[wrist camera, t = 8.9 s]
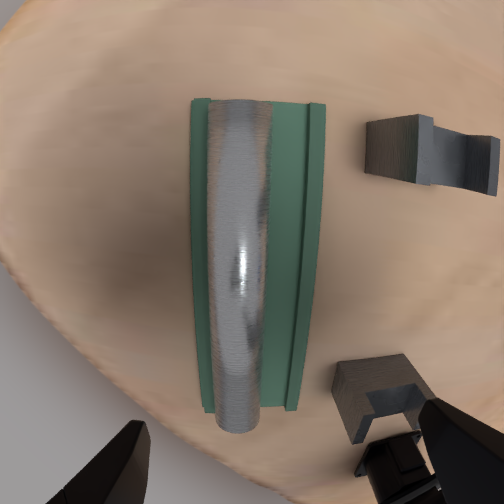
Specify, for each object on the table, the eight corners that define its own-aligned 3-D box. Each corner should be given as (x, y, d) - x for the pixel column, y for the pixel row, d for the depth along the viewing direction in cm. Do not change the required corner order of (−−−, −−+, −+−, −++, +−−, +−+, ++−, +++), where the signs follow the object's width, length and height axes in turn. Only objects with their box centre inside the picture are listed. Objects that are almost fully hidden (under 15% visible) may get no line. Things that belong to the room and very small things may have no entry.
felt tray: (296, 399, 22) (298, 410, 20) (203, 401, 21) (202, 412, 20) (322, 107, 15) (329, 104, 14) (193, 102, 15) (190, 98, 14)
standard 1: (438, 182, 17) (496, 196, 12) (364, 172, 17) (416, 183, 11) (441, 137, 16) (500, 139, 11) (367, 122, 16) (419, 114, 11)
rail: (268, 415, 19) (239, 440, 17) (235, 397, 21) (206, 418, 19) (285, 107, 14) (244, 97, 11) (237, 111, 15) (194, 104, 13)
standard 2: (393, 382, 22) (422, 427, 17) (331, 391, 22) (351, 444, 16) (403, 353, 21) (437, 398, 16) (338, 362, 21) (363, 415, 15)
